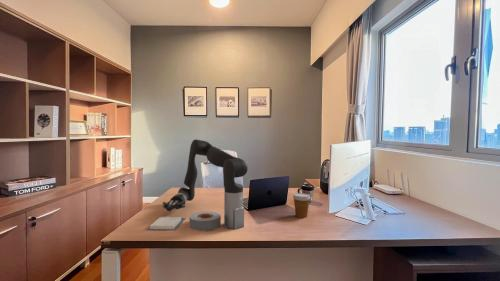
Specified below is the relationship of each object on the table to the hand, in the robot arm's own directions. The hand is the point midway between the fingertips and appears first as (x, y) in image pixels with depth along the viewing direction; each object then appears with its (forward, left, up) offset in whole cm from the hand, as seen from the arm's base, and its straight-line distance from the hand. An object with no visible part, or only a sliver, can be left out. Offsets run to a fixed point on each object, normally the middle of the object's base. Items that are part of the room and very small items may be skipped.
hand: (168, 209), depth 132 cm
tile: (+2, -2, -6) cm, 6 cm away
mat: (-1, +1, -7) cm, 7 cm away
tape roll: (-15, -12, -8) cm, 21 cm away
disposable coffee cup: (-39, -60, -7) cm, 72 cm away
